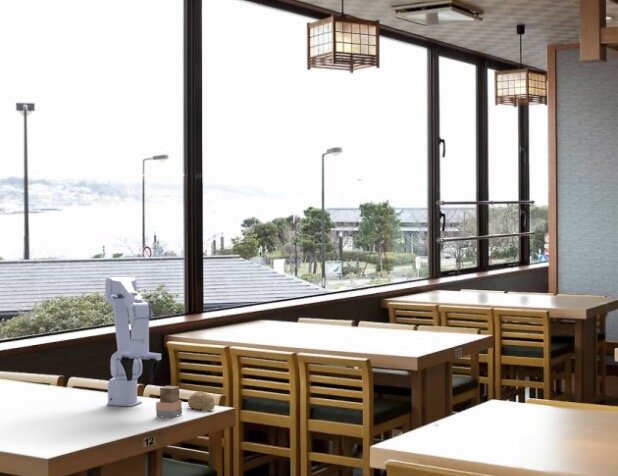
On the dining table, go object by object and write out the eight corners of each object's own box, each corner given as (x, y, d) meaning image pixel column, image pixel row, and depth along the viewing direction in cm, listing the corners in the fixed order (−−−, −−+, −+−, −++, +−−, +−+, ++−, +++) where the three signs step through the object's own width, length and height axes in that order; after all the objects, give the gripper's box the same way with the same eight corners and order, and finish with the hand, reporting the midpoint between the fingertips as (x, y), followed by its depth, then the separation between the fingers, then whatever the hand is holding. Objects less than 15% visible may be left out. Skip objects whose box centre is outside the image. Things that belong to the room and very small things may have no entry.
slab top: (156, 410, 304) (156, 402, 304) (164, 406, 310) (164, 399, 310) (172, 411, 302) (172, 403, 302) (181, 407, 308) (181, 400, 308)
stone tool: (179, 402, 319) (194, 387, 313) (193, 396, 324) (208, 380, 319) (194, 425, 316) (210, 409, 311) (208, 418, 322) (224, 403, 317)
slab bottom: (156, 417, 304) (156, 410, 304) (165, 414, 310) (165, 406, 310) (173, 419, 302) (173, 411, 302) (181, 415, 308) (181, 407, 308)
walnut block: (160, 402, 304) (160, 388, 304) (166, 399, 309) (166, 385, 309) (172, 402, 303) (172, 388, 303) (179, 400, 307) (179, 386, 307)
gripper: (114, 340, 308) (114, 381, 308) (153, 341, 303) (154, 384, 303) (125, 337, 315) (125, 378, 315) (164, 339, 310) (164, 380, 310)
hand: (140, 381), depth 310 cm, fingers open, 7 cm apart
